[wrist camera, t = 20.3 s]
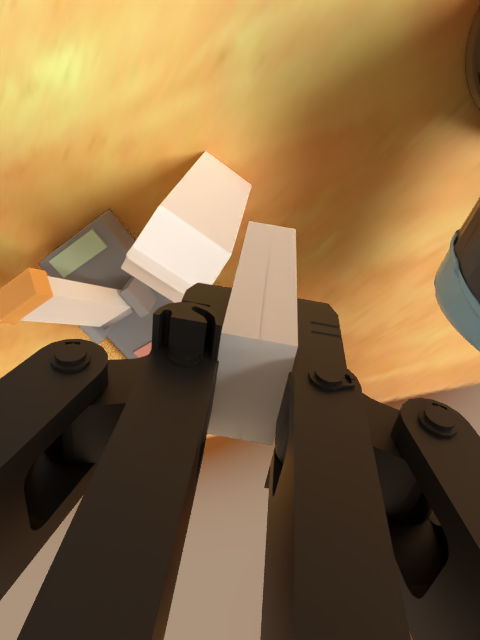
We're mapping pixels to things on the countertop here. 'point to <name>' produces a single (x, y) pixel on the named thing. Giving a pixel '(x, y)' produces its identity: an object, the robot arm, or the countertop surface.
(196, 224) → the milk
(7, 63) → the countertop surface
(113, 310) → the handle
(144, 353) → the switch plate
